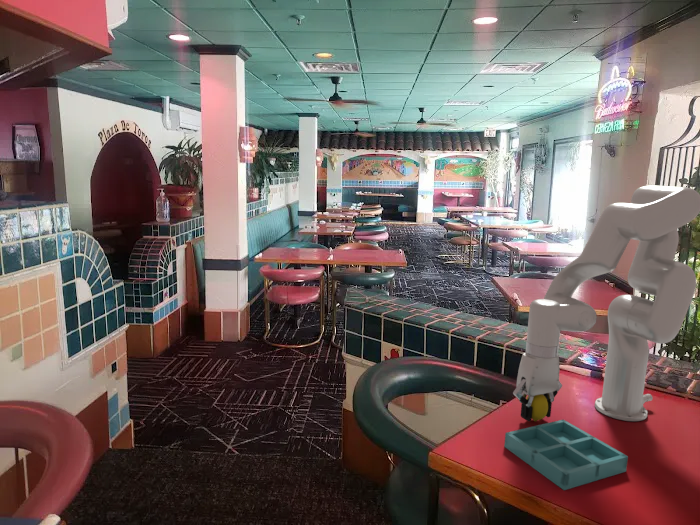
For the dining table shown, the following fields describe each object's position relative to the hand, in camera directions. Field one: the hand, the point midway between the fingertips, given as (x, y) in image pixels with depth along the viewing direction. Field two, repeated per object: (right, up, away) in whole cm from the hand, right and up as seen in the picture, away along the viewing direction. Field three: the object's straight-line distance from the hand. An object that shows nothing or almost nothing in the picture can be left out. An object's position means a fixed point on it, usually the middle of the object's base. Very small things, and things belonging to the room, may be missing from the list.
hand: (535, 416), depth 133 cm
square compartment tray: (0, -4, -17) cm, 18 cm away
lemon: (0, -2, 0) cm, 1 cm away
